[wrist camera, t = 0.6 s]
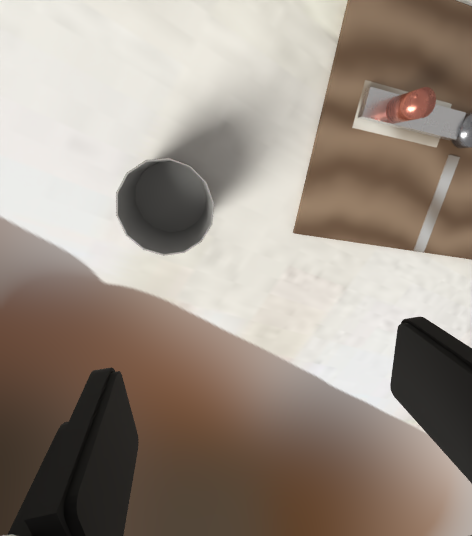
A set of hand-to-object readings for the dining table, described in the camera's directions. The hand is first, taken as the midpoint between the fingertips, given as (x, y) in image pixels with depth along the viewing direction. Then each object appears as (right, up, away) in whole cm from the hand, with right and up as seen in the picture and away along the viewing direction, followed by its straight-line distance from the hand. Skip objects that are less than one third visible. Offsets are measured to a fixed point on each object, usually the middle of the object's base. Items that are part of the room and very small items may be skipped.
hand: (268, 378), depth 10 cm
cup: (-9, +12, +25) cm, 29 cm away
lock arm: (+21, +22, +26) cm, 40 cm away
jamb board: (+27, +19, +29) cm, 44 cm away
